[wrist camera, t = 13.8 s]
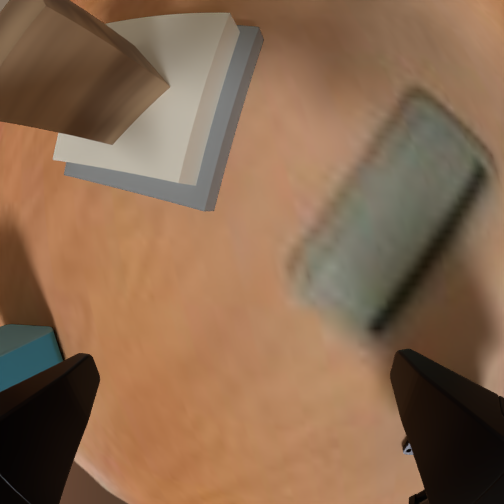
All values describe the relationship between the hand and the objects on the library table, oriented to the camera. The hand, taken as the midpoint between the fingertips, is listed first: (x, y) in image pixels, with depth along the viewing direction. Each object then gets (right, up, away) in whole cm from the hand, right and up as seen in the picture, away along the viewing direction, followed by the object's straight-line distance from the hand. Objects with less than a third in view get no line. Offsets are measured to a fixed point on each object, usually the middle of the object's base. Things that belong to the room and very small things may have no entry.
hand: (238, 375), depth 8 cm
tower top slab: (-7, +14, +10) cm, 19 cm away
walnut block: (-8, +13, +8) cm, 17 cm away
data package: (-25, -7, +19) cm, 32 cm away
